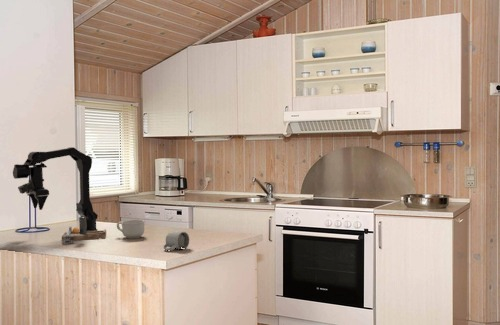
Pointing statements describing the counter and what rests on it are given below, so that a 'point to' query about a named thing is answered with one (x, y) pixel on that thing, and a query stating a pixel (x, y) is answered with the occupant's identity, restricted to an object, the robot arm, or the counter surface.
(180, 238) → the ceramic mug
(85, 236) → the lane
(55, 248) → the counter surface
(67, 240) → the pivot post
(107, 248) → the counter surface
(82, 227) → the lever
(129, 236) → the teacup
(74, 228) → the ball
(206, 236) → the counter surface
